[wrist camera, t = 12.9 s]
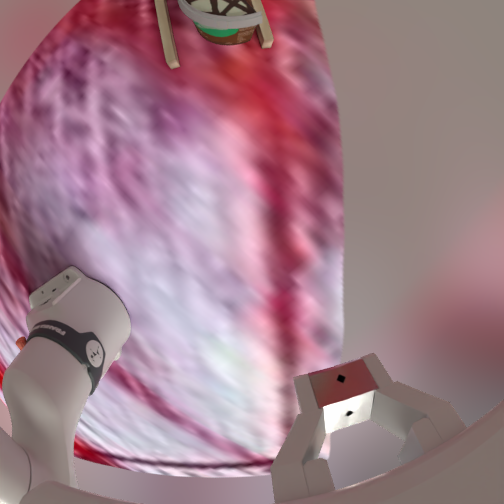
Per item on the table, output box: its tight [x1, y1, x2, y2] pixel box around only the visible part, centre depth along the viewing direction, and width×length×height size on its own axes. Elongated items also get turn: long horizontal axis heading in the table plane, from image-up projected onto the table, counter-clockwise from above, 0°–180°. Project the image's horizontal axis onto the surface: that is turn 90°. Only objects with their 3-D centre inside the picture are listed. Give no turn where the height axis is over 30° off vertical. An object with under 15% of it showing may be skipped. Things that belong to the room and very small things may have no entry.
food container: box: [178, 0, 262, 45], centre depth 22 cm, size 12×6×10 cm, turn 32°
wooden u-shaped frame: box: [155, 0, 274, 69], centre depth 24 cm, size 13×16×3 cm
